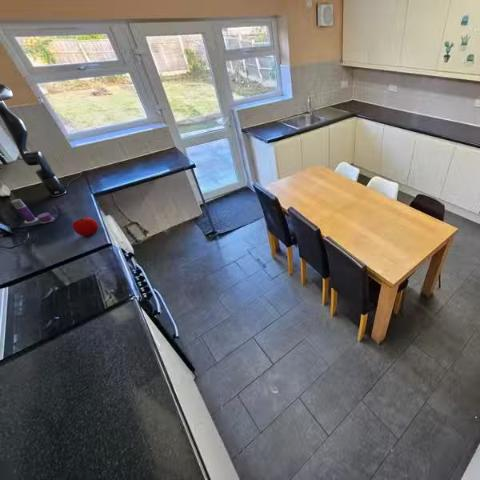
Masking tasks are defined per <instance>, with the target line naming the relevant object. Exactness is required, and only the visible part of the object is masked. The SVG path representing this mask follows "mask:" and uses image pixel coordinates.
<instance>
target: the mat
mask: <svg viewBox="0 0 480 480" xmlns="http://www.w3.org/2000/svg"><path fill="white" fill-rule="evenodd" d="M50 215H51V216H52V218H53V219H52V220H51V221H49V222H45V223H42V222H41V221H40V220H39V218H38V217H36V216H35V218H36V220H34V221H32V222H27V221H26V220H25V219H24V220H23V221H22V223H21V224H20V225H19V226H18V227H17V229H22V228H27V227H28V228H29V227H33V226H37V225H43V224H50V223H54V222H55V221H56V219H57V218H58V217H59V215H60V213H53V214H50Z"/></svg>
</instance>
